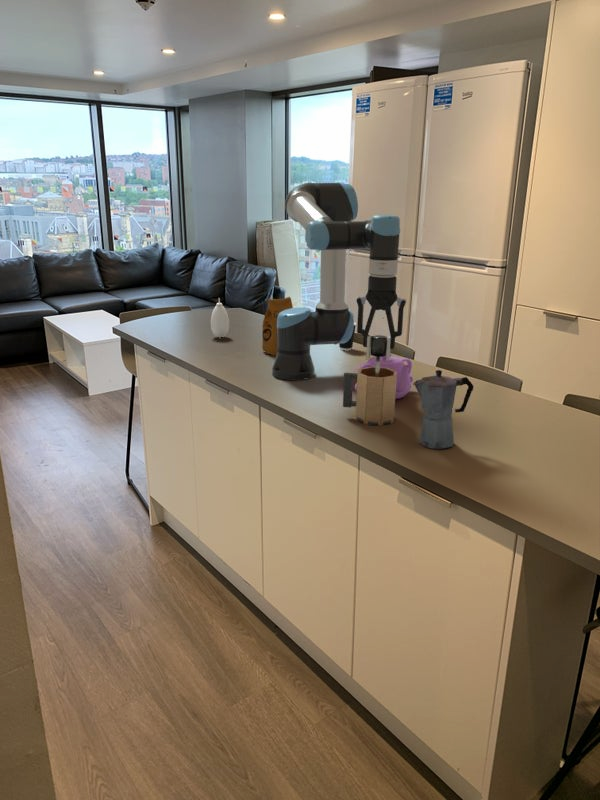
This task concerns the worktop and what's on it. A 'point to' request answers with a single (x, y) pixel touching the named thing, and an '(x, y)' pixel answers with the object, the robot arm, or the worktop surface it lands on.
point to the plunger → (378, 350)
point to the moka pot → (439, 408)
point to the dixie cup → (348, 342)
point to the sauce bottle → (219, 321)
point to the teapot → (395, 364)
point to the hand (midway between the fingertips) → (378, 358)
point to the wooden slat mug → (372, 395)
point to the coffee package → (273, 323)
